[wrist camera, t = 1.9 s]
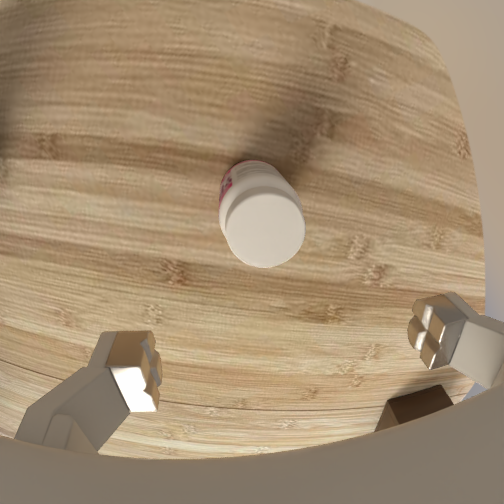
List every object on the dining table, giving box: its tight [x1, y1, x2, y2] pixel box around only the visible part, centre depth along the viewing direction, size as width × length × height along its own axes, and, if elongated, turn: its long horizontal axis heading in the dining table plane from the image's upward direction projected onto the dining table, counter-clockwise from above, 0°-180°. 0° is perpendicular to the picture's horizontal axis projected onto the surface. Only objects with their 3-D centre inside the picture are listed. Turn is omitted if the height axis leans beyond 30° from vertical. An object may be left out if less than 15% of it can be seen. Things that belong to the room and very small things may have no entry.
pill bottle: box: [219, 160, 306, 268], centre depth 20 cm, size 5×5×8 cm
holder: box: [375, 385, 454, 432], centre depth 38 cm, size 17×9×5 cm, turn 2°
